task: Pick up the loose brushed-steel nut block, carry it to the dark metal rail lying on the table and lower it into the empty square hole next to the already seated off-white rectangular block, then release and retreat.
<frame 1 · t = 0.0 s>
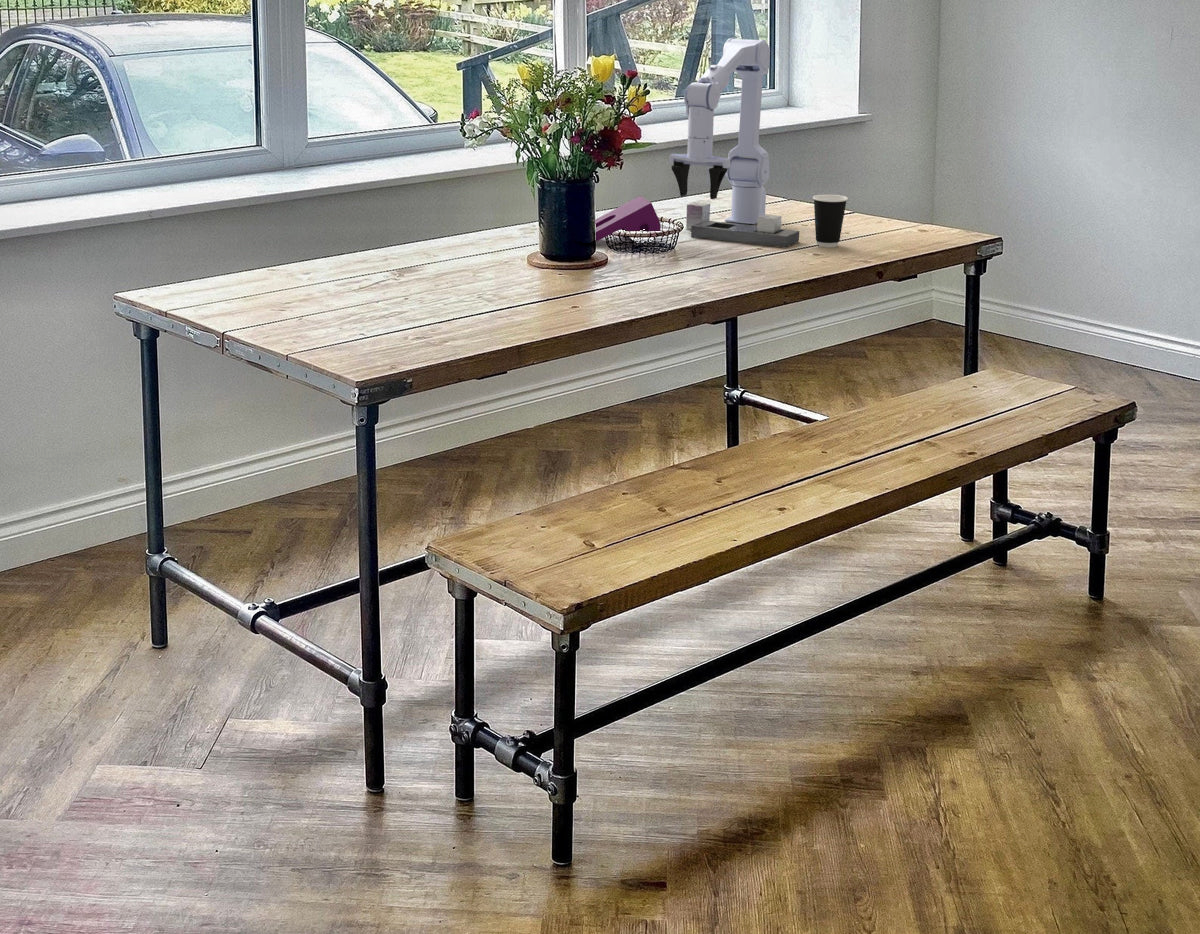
hand: (698, 197, 331), 10 cm above the table, tool pointing down, fingers open, 7 cm apart
rail: (744, 239, 336), on the table
dixie cup: (827, 246, 331), on the table
off-white rectangular block: (768, 242, 333), resting in rail
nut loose: (697, 228, 348), on the table
mounting bracket: (616, 242, 334), on the table
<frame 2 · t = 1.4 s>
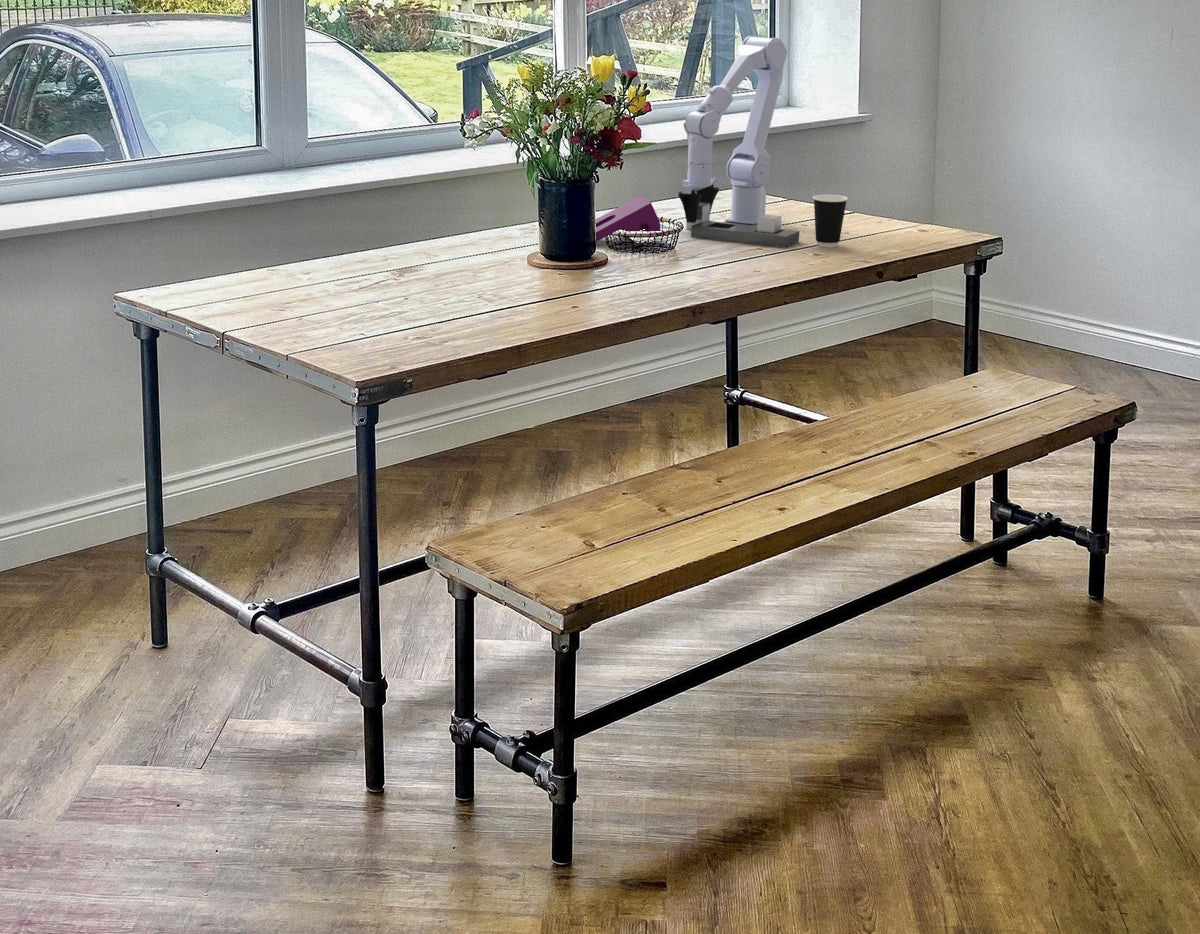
hand: (697, 219, 347), 2 cm above the table, tool pointing down, fingers open, 7 cm apart
nothing on the table moved.
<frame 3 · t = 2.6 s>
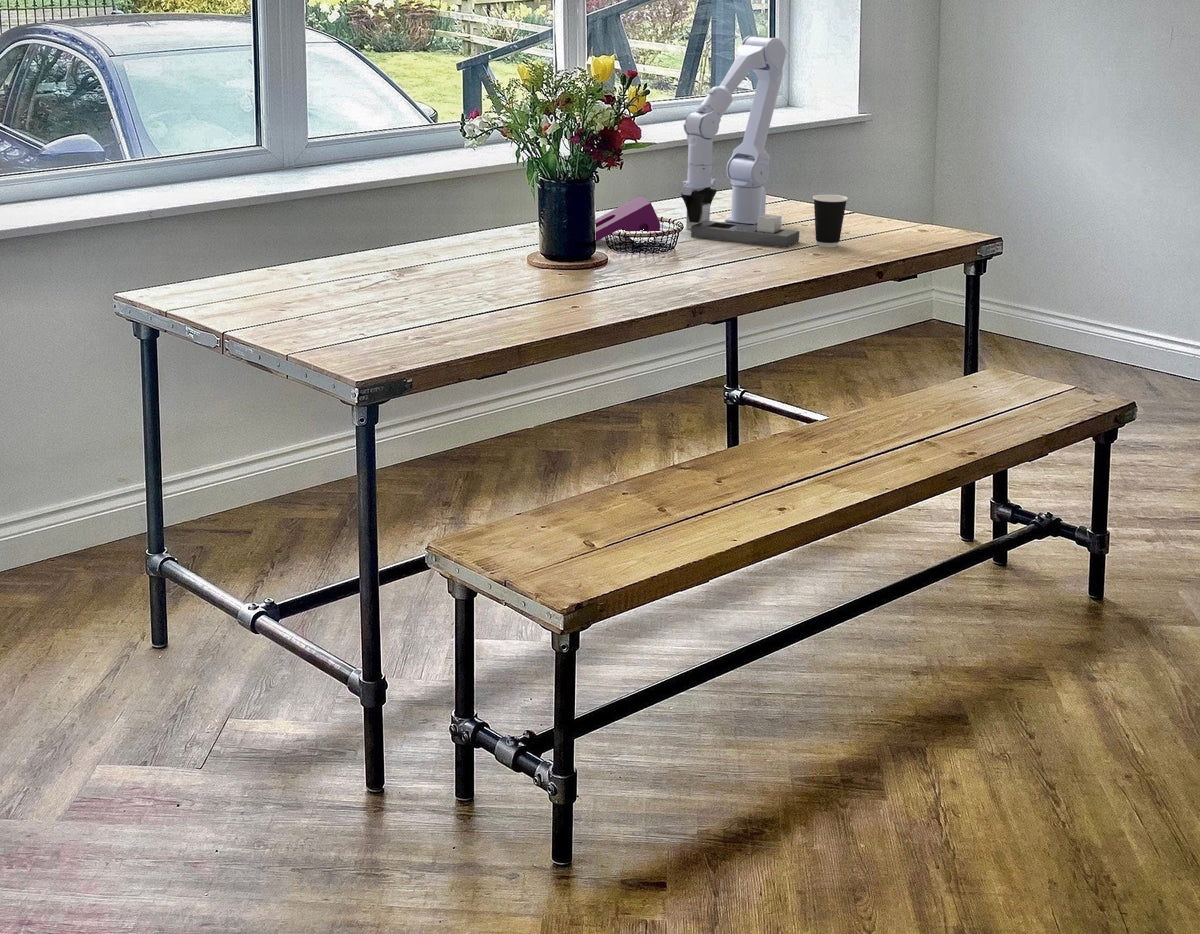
hand: (698, 220, 347), 2 cm above the table, tool pointing down, fingers closed on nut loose, 4 cm apart
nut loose: (697, 228, 348), on the table, touching gripper
everything else where it was.
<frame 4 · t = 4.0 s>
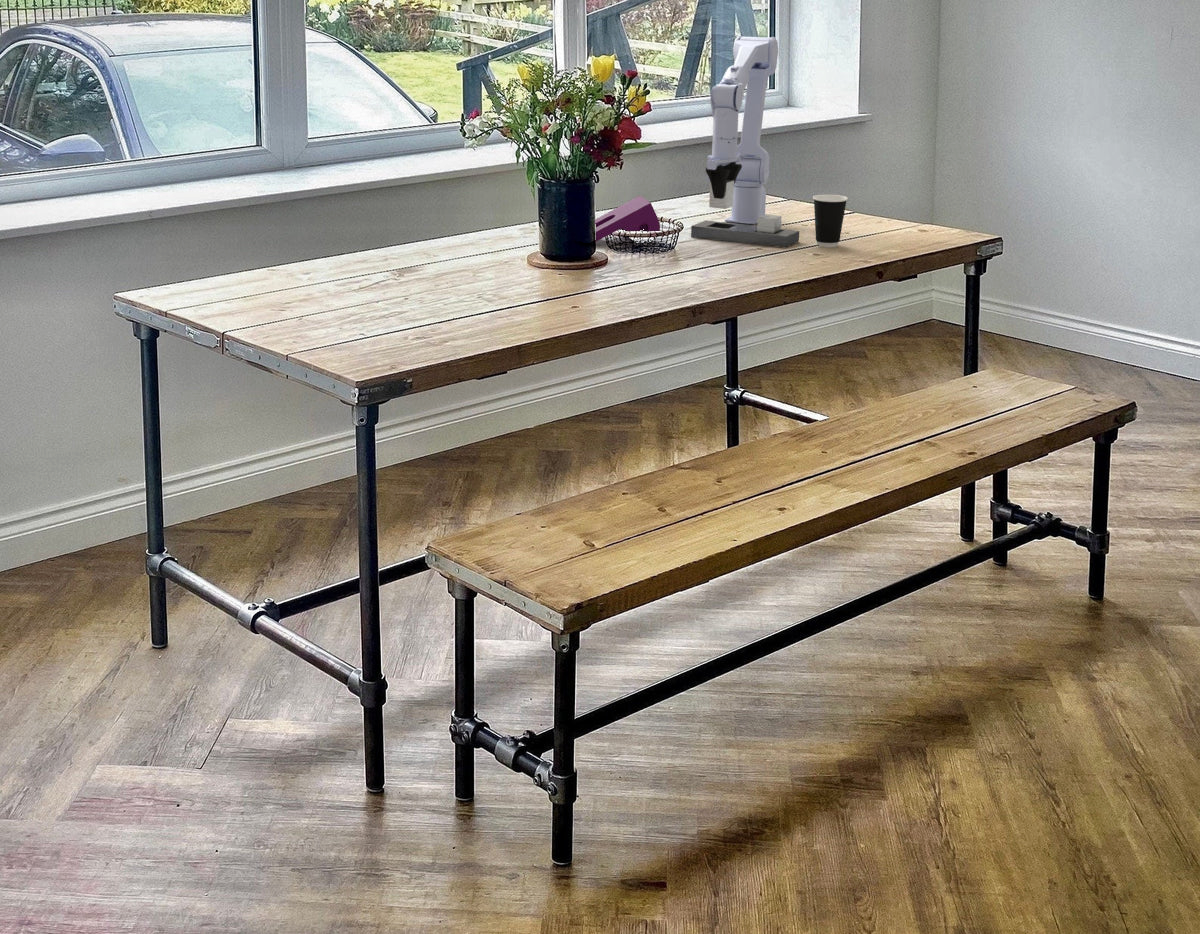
hand: (722, 196, 335), 9 cm above the table, tool pointing down, fingers closed on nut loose, 4 cm apart
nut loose: (721, 206, 336), point 7 cm above the table, touching gripper
everything else where it was.
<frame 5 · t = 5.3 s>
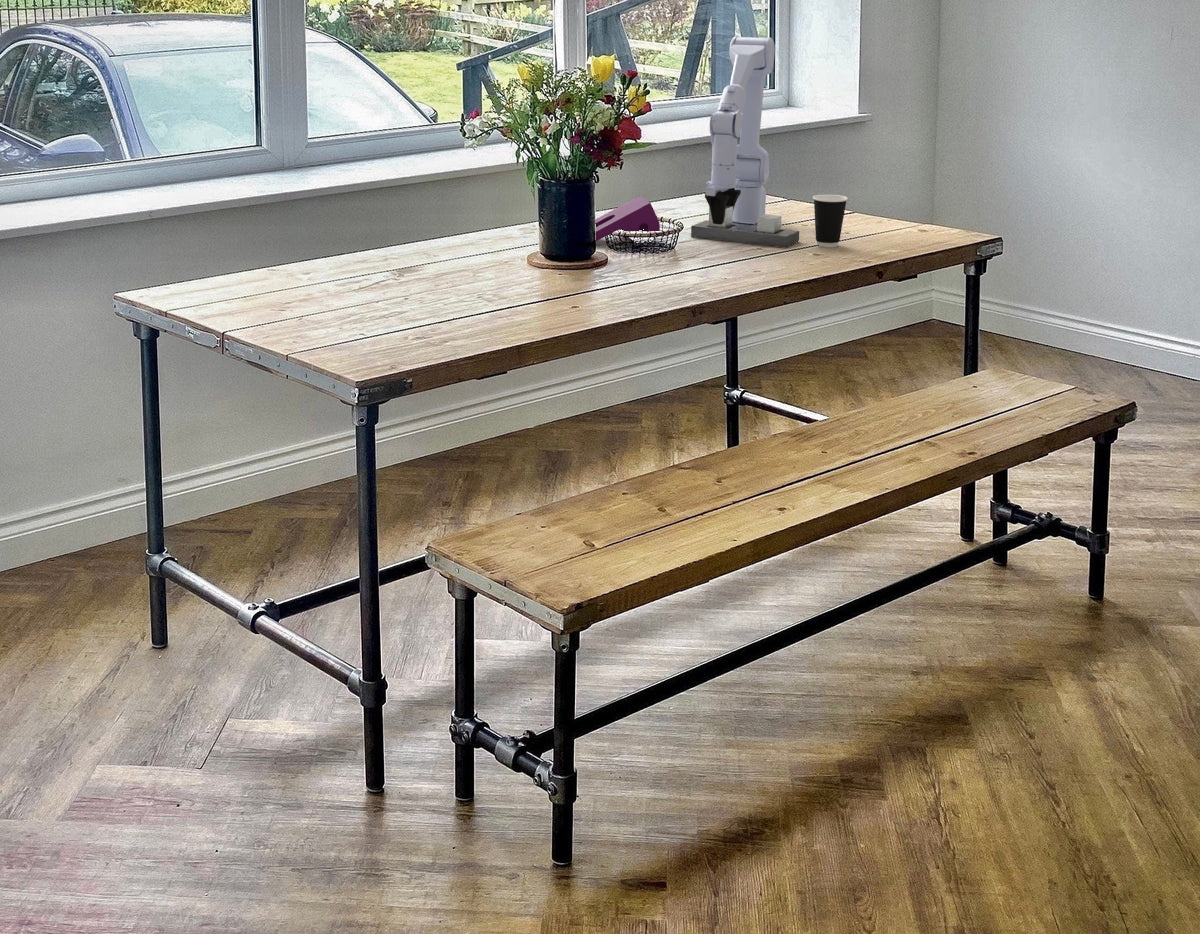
hand: (721, 222, 338), 3 cm above the table, tool pointing down, fingers closed on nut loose, 4 cm apart
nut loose: (720, 232, 338), point 1 cm above the table, touching gripper
everything else where it was.
when the fingers open (3 cm above the table, at t = 5.9 s): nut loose drops 1 cm, resting in rail.
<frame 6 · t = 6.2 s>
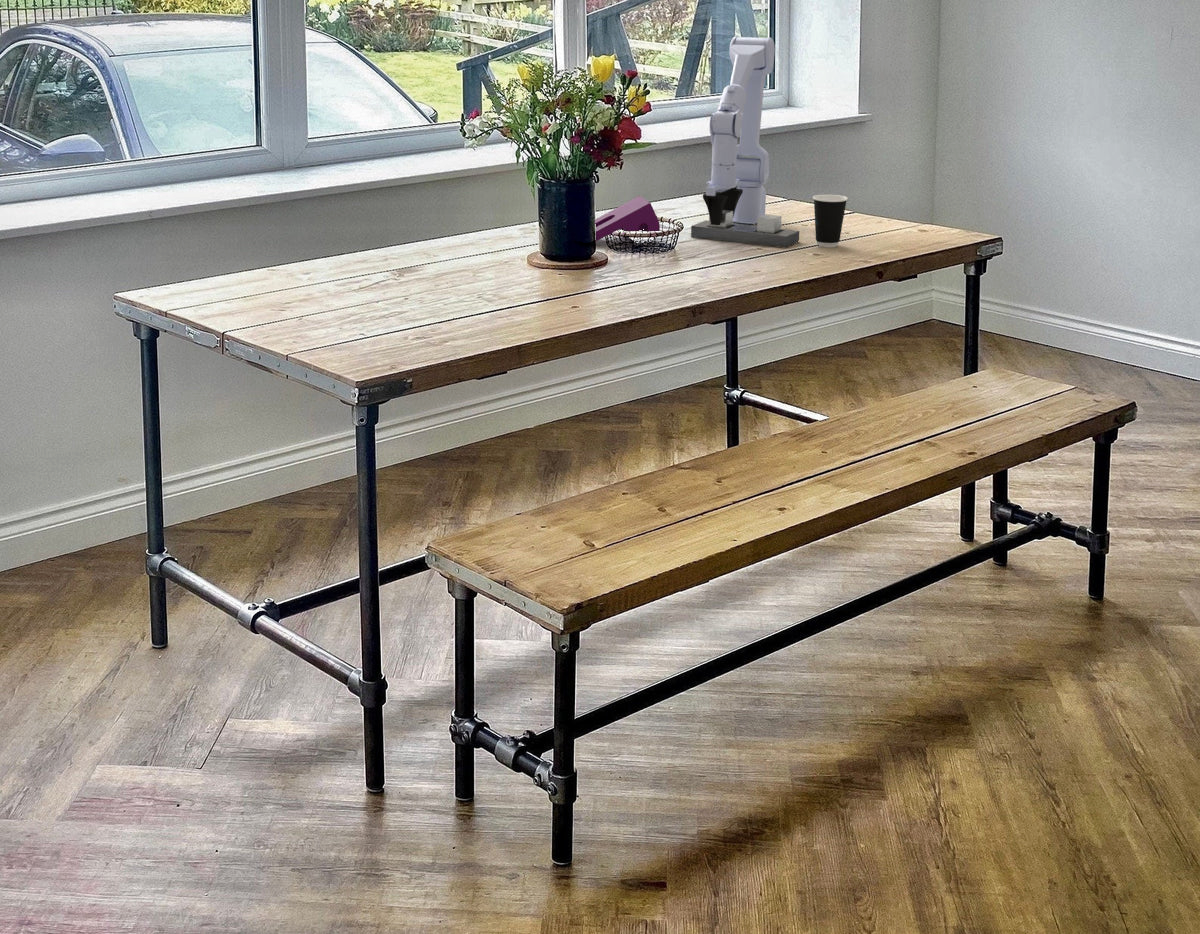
hand: (721, 222, 337), 3 cm above the table, tool pointing down, fingers open, 6 cm apart
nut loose: (720, 236, 339), resting in rail
everything else where it was.
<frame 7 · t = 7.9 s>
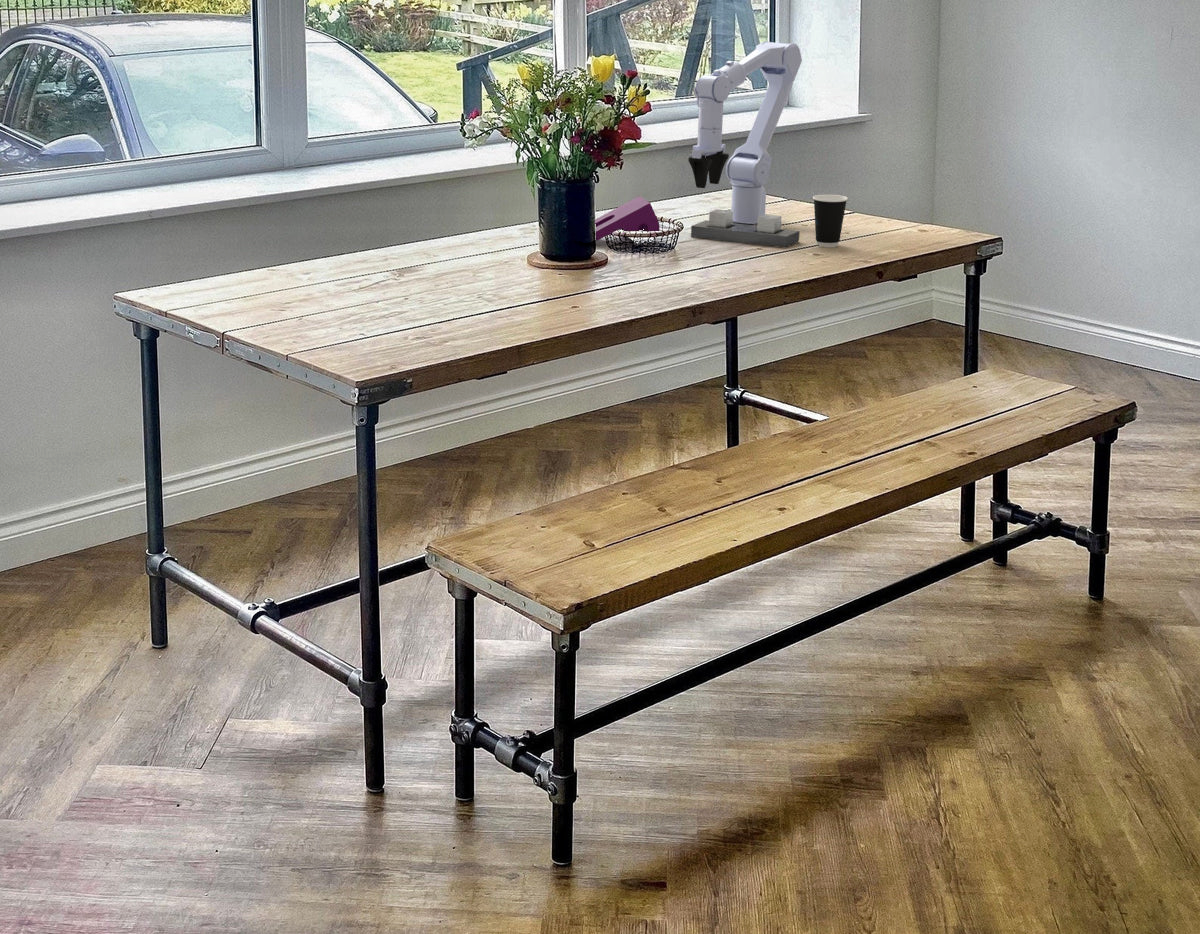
hand: (707, 185, 344), 10 cm above the table, tool pointing down, fingers open, 7 cm apart
nothing on the table moved.
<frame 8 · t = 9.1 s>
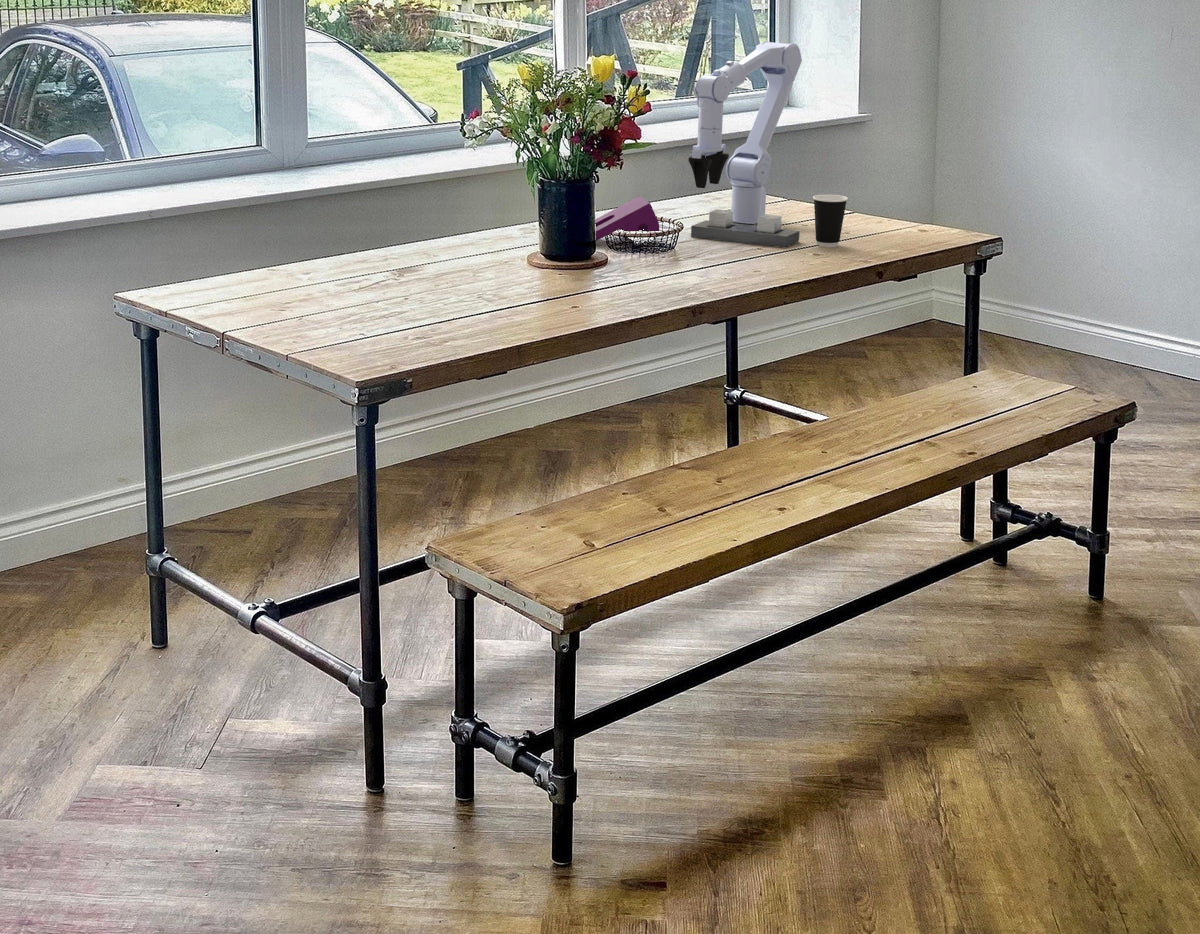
hand: (707, 185, 344), 10 cm above the table, tool pointing down, fingers open, 7 cm apart
nothing on the table moved.
at the end: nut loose 0.2 cm from the target spot on the rail, point 0.0 cm above the rail's base; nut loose tilted 0°; the gripper is holding nothing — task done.
